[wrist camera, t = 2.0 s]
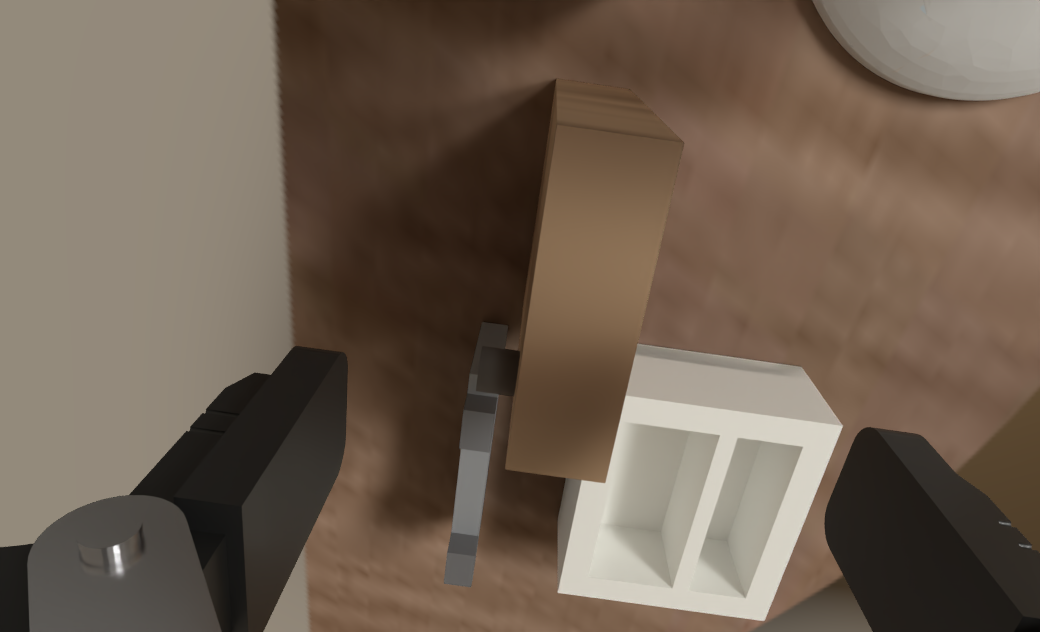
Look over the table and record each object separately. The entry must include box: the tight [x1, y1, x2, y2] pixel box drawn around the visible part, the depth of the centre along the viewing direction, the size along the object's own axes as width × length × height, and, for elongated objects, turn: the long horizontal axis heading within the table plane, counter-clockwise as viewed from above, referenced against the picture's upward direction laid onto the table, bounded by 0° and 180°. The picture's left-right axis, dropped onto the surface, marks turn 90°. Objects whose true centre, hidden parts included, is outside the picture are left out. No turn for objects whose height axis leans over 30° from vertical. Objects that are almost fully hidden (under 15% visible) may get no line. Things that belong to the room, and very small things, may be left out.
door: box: [476, 79, 684, 483], centre depth 19 cm, size 8×3×10 cm, turn 172°
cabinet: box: [444, 322, 843, 621], centre depth 25 cm, size 9×12×5 cm
